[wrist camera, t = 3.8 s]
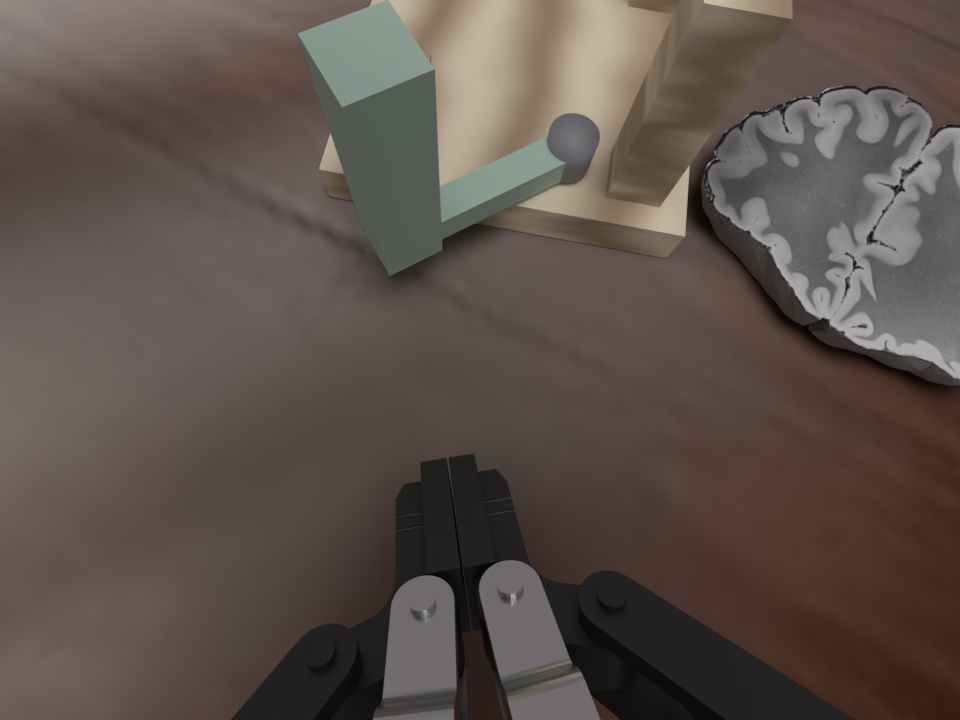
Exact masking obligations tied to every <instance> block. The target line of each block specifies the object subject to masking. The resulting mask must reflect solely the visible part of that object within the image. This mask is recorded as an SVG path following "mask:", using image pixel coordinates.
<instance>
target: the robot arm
mask: <svg viewBox="0 0 960 720" xmlns="http://www.w3.org/2000/svg"><path fill="white" fill-rule="evenodd" d="M449 466H450V473H451V480H452V488H453V495H454V503H455V510H456V517H455V510H454V503H453V497H452V490H451V484H450V478H449V472H448V466H447V460H446V458H443V459H437V460H430V461H424V462H420V467H421V482H415V483H409V484H404V485H403V487H402V489H401V491H400V493H399V495H398V497H397V499H396V582H395V589H394V592H393V594H392V597H391V598H390V600H389V602H388V603H387V604H386V606H385V607H384V608H383V609H382V610H381V611H380V612H379V613H377V614H376V615H375V616H373V617H372V618H370V619H368V620H366V621H364V622H362V623H360V624H358V625H357V626H355V627H353V628H351V629H348V628H347V627H345V626H343V625H340V624H325V625H322V626H319V627H316V628H314V629H312V630H311V631H309V632H308V633H307V634H305V635H304V636H303V637H302V638H301V639H300V640H299V641H298V642H297V643H296V645H295V646H294V647H293V648H292V649H291V650H290V652H289V653H288V654H287V655H286V656H285V657H284V659H283V660H282V661H281V662H280V663H279V664H278V666H277V667H276V668H275V669H274V670H273V671H272V673H271V674H270V675H269V676H268V677H267V678H266V680H265V681H264V682H263V683H262V684H261V685H260V687H259V688H258V689H257V690H256V691H255V692H254V694H253V695H252V696H251V697H250V698H249V699H248V701H247V702H246V703H245V704H244V705H243V706H242V708H241V709H240V710H239V711H238V712H237V713H236V715H235V716H234V717H233V718H232V719H231V720H469V701H468V678H467V665H466V659H465V654H464V645H463V637H462V633H464V632H469V631H471V630H470V623H469V615H468V608H467V600H466V593H465V585H464V577H463V570H462V562H463V569H464V576H465V582H466V588H467V594H468V600H469V607H470V613H471V619H472V625H473V631H475V630H480V629H481V630H482V637H483V643H484V650H485V654H486V657H487V659H488V661H489V664H490V669H491V673H492V677H493V681H494V686H495V690H496V694H497V699H498V703H499V707H500V712H501V716H502V720H600V718H599V715H598V712H597V710H596V707H595V705H594V702H593V699H592V697H591V695H592V696H593V697H594V698H595V699H596V700H598V701H599V702H600V703H601V704H602V705H604V706H605V707H606V708H607V709H608V710H610V711H611V712H612V713H613V714H614V715H616V716H617V717H618V718H619V719H620V720H855V719H854V718H852V717H850V716H849V715H847V714H846V713H844V712H842V711H841V710H839V709H838V708H836V707H834V706H833V705H831V704H830V703H828V702H826V701H825V700H823V699H822V698H820V697H818V696H817V695H815V694H814V693H812V692H811V691H809V690H807V689H806V688H804V687H803V686H801V685H799V684H798V683H796V682H795V681H793V680H791V679H790V678H788V677H787V676H785V675H783V674H782V673H780V672H779V671H777V670H775V669H774V668H772V667H771V666H769V665H767V664H766V663H764V662H763V661H761V660H759V659H758V658H756V657H755V656H753V655H752V654H750V653H748V652H747V651H745V650H744V649H742V648H740V647H739V646H737V645H736V644H734V643H732V642H731V641H729V640H728V639H726V638H724V637H723V636H721V635H720V634H718V633H716V632H715V631H713V630H712V629H710V628H708V627H707V626H705V625H704V624H702V623H700V622H699V621H697V620H696V619H694V618H693V617H691V616H689V615H688V614H686V613H685V612H683V611H681V610H680V609H678V608H677V607H675V606H673V605H672V604H670V603H669V602H667V601H665V600H664V599H662V598H661V597H659V596H657V595H656V594H654V593H653V592H651V591H649V590H648V589H646V588H645V587H643V586H641V585H640V584H638V583H637V582H635V581H634V580H632V579H630V578H629V577H627V576H625V575H623V574H621V573H618V572H614V571H600V572H596V573H593V574H591V575H590V576H588V577H587V578H586V579H585V580H584V581H583V582H582V584H581V586H580V585H573V584H565V583H558V582H554V581H551V580H548V579H546V578H544V577H543V576H541V575H540V574H539V573H538V572H536V571H535V570H534V568H533V567H532V566H531V564H530V562H529V560H528V557H527V554H526V550H525V546H524V543H523V539H522V535H521V532H520V528H519V524H518V521H517V517H516V513H515V510H514V506H513V502H512V499H511V495H510V491H509V487H508V484H507V481H506V480H505V479H504V478H503V476H502V475H501V474H500V473H499V472H498V471H497V470H496V469H493V470H487V471H481V472H478V470H477V465H476V460H475V456H474V454H468V455H462V456H455V457H449ZM456 518H457V524H456ZM457 525H458V532H459V540H460V547H461V555H462V562H461V555H460V547H459V540H458V532H457Z"/></svg>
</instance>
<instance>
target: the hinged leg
mask: <svg viewBox="0 0 960 720" xmlns="http://www.w3.org/2000/svg"><path fill="white" fill-rule="evenodd" d="M298 37H299V40H300V43H301V46H302V49H303V52H304V55H305V58H306V61H307V64H308V67H309V70H310V73H311V76H312V79H313V82H314V85H315V88H316V91H317V94H318V97H319V100H320V103H321V106H322V109H323V112H324V115H325V118H326V121H327V124H328V127H329V130H330V133H331V136H332V139H333V142H334V145H335V148H336V151H337V154H338V157H339V160H340V163H341V166H342V169H343V172H344V175H345V178H346V181H347V184H348V187H349V190H350V193H351V196H352V199H353V202H354V205H355V208H356V211H357V214H358V217H359V220H360V223H361V226H362V229H363V231H364V233H365V234H366V236H367V238H368V239H369V241H370V243H371V245H372V246H373V248H374V250H375V252H376V253H377V255H378V257H379V259H380V260H381V262H382V264H383V266H384V267H385V269H386V271H387V273H388V274H389V276H391V275H393V274H395V273H397V272H399V271H401V270H403V269H405V268H407V267H409V266H411V265H413V264H415V263H417V262H419V261H421V260H423V259H426V258H428V257H430V256H432V255H434V254H436V253H438V252H440V251H442V239H444V238H446V237H448V236H450V235H452V234H454V233H456V232H458V231H460V230H462V229H464V228H467V227H469V226H471V225H473V224H475V223H477V222H479V221H481V220H483V219H485V218H487V217H489V216H491V215H493V214H495V213H497V212H500V211H502V210H504V209H506V208H508V207H510V206H512V205H514V204H516V203H518V202H520V201H522V200H524V199H526V198H528V197H530V196H533V195H535V194H537V193H539V192H541V191H543V190H545V189H547V188H549V187H551V186H553V185H555V184H557V183H559V182H561V183H574V182H577V181H579V180H581V179H582V178H583V177H584V176H585V175H586V173H587V171H588V169H589V166H590V164H591V161H592V159H593V156H594V154H595V151H596V149H597V147H598V144H599V141H600V132H599V129H598V127H597V125H596V124H595V123H594V122H593V121H592V120H591V119H590V118H588V117H586V116H584V115H581V114H577V113H567V114H563V115H561V116H559V117H557V118H556V119H555V120H554V121H553V122H552V124H551V126H550V129H549V133H548V137H546V138H544V139H541V140H539V141H537V142H535V143H533V144H531V145H528V146H526V147H524V148H522V149H520V150H518V151H515V152H513V153H511V154H509V155H507V156H505V157H502V158H500V159H498V160H496V161H494V162H492V163H490V164H487V165H485V166H483V167H481V168H479V169H477V170H474V171H472V172H470V173H468V174H466V175H464V176H461V177H459V178H457V179H455V180H453V181H451V182H448V183H446V184H444V185H442V186H440V180H439V156H438V132H437V108H436V84H435V69H434V67H433V66H432V64H431V63H430V61H429V60H428V58H427V57H426V55H425V54H424V52H423V51H422V49H421V48H420V46H419V45H418V43H417V42H416V40H415V39H414V37H413V36H412V34H411V33H410V31H409V30H408V28H407V27H406V25H405V24H404V23H403V21H402V20H401V18H400V17H399V15H398V14H397V12H396V11H395V9H394V8H393V6H392V5H391V3H390V2H389V0H385V1H383V2H380V3H378V4H375V5H372V6H370V7H367V8H364V9H362V10H359V11H356V12H354V13H351V14H348V15H346V16H343V17H340V18H338V19H335V20H332V21H330V22H327V23H324V24H322V25H319V26H316V27H314V28H311V29H308V30H306V31H303V32H300V33H298Z"/></svg>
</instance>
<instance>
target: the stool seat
mask: <svg viewBox="0 0 960 720" xmlns="http://www.w3.org/2000/svg"><path fill="white" fill-rule="evenodd" d="M383 1H385V0H372V2H371V5H370V6H372V5H375V4H378V3H380V2H383ZM389 2H390V3H391V5H392V6H393V8H394V9H395V11H396V12H397V14H398V15H399V17H400V18H401V20H402V21H403V23H404V24H405V25H406V27H407V28H408V30H409V31H410V33H411V34H412V36H413V37H414V39H415V40H416V42H417V43H418V45H419V46H420V48H421V49H422V51H423V52H424V54H425V55H426V57H427V58H428V60H429V61H430V63H431V64H432V66H433V67H434V69H435V84H436V108H437V132H438V156H439V180H440V186H442V185H444V184H446V183H448V182H451V181H453V180H455V179H457V178H459V177H461V176H464V175H466V174H468V173H470V172H472V171H474V170H477V169H479V168H481V167H483V166H485V165H487V164H490V163H492V162H494V161H496V160H498V159H500V158H502V157H505V156H507V155H509V154H511V153H513V152H515V151H518V150H520V149H522V148H524V147H526V146H528V145H531V144H533V143H535V142H537V141H539V140H541V139H544V138H546V137H548V133H549V129H550V126H551V124H552V122H553V121H554V120H555V119H556V118H557V117H559V116H561V115H563V114H567V113H577V114H581V115H584V116H586V117H588V118H590V119H591V120H592V121H593V122H594V123H595V124H596V125H597V127H598V129H599V132H600V141H599V144H598V147H597V149H596V151H595V154H594V156H593V159H592V161H591V164H590V166H589V169H588V171H587V173H586V175H585V176H584V177H583V178H582V179H581V180H579V181H577V182H574V183H561V182H559V183H557V184H555V185H553V186H551V187H549V188H547V189H545V190H543V191H541V192H539V193H537V194H535V195H533V196H530V197H528V198H526V199H524V200H522V201H520V202H518V203H516V204H514V205H512V206H510V207H508V208H506V209H504V210H502V211H500V212H497V213H495V214H493V215H491V216H489V217H487V218H485V219H483V220H481V221H479V222H477V223H475V224H481V225H486V226H492V227H497V228H503V229H508V230H513V231H519V232H524V233H530V234H535V235H541V236H546V237H552V238H557V239H563V240H568V241H574V242H579V243H584V244H590V245H595V246H601V247H606V248H612V249H617V250H623V251H628V252H634V253H639V254H644V255H650V256H655V257H661V258H667V257H668V255H669V254H670V253H671V252H672V251H673V250H674V249H675V247H676V246H677V245H678V244H679V243H680V242H681V241H682V239H683V238H684V237H685V230H686V215H687V199H688V183H689V168H690V164H691V162H692V161H693V159H694V158H695V157H696V155H697V154H698V152H699V151H700V150H701V148H702V147H703V145H704V144H705V142H706V141H707V140H708V138H709V137H710V135H711V134H712V133H713V131H714V130H715V128H716V127H717V125H718V124H719V123H720V121H721V120H722V118H723V117H724V115H725V114H726V113H727V111H728V110H729V108H730V107H731V106H732V104H733V103H734V101H735V100H736V98H737V97H738V96H739V94H740V93H741V91H742V90H743V89H744V87H745V86H746V84H747V83H748V81H749V80H750V79H751V77H752V76H753V74H754V73H755V71H756V70H757V69H758V67H759V66H760V64H761V63H762V62H763V60H764V59H765V57H766V56H767V54H768V53H769V52H770V50H771V49H772V47H773V46H774V45H775V43H776V42H777V40H778V39H779V37H780V36H781V35H782V33H783V32H784V30H785V29H786V27H787V26H788V25H789V23H790V22H791V20H792V0H389ZM319 171H320V173H321V176H322V178H323V181H324V183H325V186H326V188H327V191H328V193H329V196H330V197H333V198H339V199H344V200H350V201H353V199H352V196H351V193H350V190H349V187H348V184H347V181H346V178H345V175H344V172H343V169H342V166H341V163H340V160H339V157H338V154H337V151H336V148H335V145H334V142H333V139H332V136H331V133H330V136H329V139H328V142H327V145H326V148H325V152H324V155H323V158H322V161H321V164H320V168H319Z"/></svg>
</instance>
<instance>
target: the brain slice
mask: <svg viewBox="0 0 960 720" xmlns="http://www.w3.org/2000/svg"><path fill="white" fill-rule="evenodd" d="M932 129H933V124H932V120H931V116H930V115H929V113H928V111H927V109H926V108H925V107H923V106H922V105H921V103H918V102H916V101H914V100H912V99H910V98H908V97H907V96H906V95H905V94H904V93H903V92H901V91H899V90H898V89H896V88H891V87H887V86H875V87H872V88H869V89H867V90H866V91H863V90H861V89H859V88H858V87H856V86H849V85H844V86H837V87H832V88H828V89H825V90H824V91H823V92H822V93H820V95H819V96H818V97H809V96H804V97H797V98H795V99H792V100H790V101H788V102H786V103H784V104H780V105H776V106H773V107H771V108H770V109H768V110H766V111H764V112H756V111H753V112H752V113H750V114H748V115H746V116H745V117H744V118H743V119H742V121H741V122H740V123H739V124H737V125H735V126H733V127H731V128H729V129H728V130H727V131H726V132H725V133H724V134H723V136H722V138H721V140H720V141H719V143H718V144H717V146H716V147H715V151H714V159H713V160H712V161H710V162H709V163H708V164H707V166H706V168H705V170H704V174H703V179H701V192H702V206H703V209H704V212H705V213H706V215H707V217H709V218H710V223H711V225H712V227H713V230H714V232H715V234H716V236H717V237H718V239H719V240H720V241H722V242H723V243H724V244H725V245H726V246H727V247H728V248H729V249H730V250H731V251H732V252H733V253H734V254H735V255H737V256H738V257H739V259H740V260H741V262H742V263H743V264H744V265H745V267H746V268H747V269H748V271H749V272H750V273H751V274H752V276H753V277H754V278H755V279H757V280H758V281H759V282H760V284H761V285H762V287H763V289H764V290H765V291H766V292H767V294H768V295H769V296H770V297H771V298H772V299H773V300H774V301H775V302H776V303H777V304H778V306H779V307H780V309H781V310H782V312H783V313H784V314H785V315H786V316H788V317H789V318H790V319H792V320H793V321H794V322H797V323H799V324H801V325H803V326H805V325H809V330H810V332H811V333H812V334H813V335H815V336H816V337H817V338H818V339H819V340H820V341H822V342H824V343H826V344H828V345H830V346H832V347H837V348H842V349H848V350H851V351H854V352H857V353H860V354H864V355H868V356H870V357H871V358H873V359H875V360H877V361H879V362H881V363H883V364H885V365H888V366H890V367H893V368H896V369H901V370H905V371H909V372H911V373H913V374H914V375H916V376H919V377H921V378H923V379H925V380H928V381H931V382H934V383H938V384H944V385H949V386H960V125H945V126H943V127H941V128H939V129H938V130H937V131H936V132H935V133H934V134H933V135H932V137H931V138H930V139H929V141H928V142H926V141H927V139H928V137H929V136H930V134H931V132H932ZM925 142H926V143H925Z"/></svg>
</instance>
